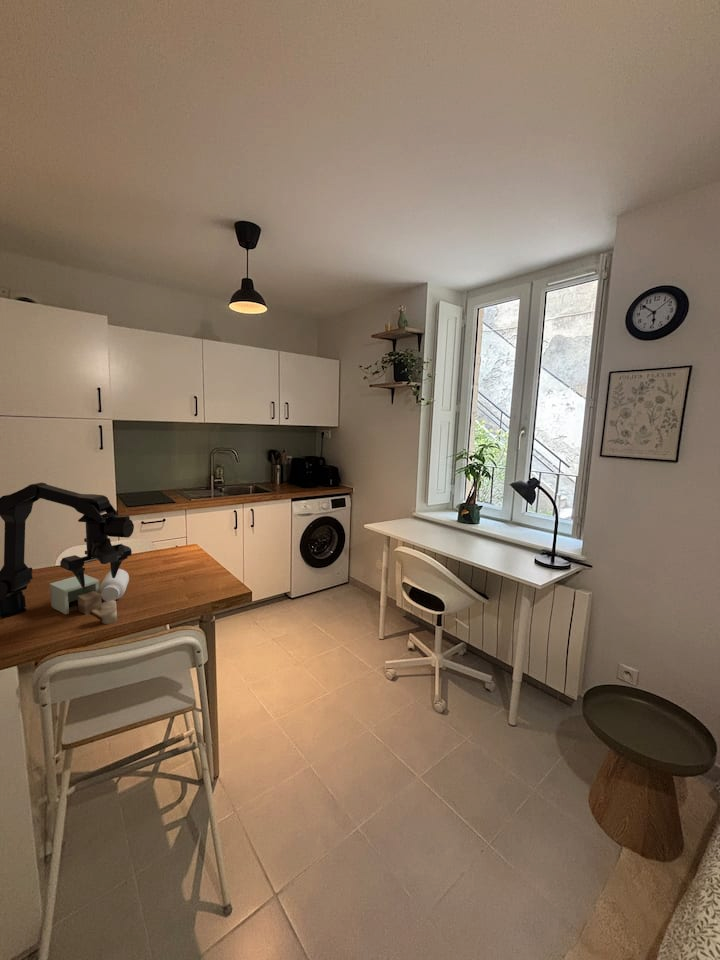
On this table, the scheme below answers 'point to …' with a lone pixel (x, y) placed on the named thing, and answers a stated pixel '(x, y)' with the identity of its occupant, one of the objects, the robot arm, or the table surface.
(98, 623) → the table surface
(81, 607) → the beige dumbbell
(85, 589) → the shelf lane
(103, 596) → the pill bottle
